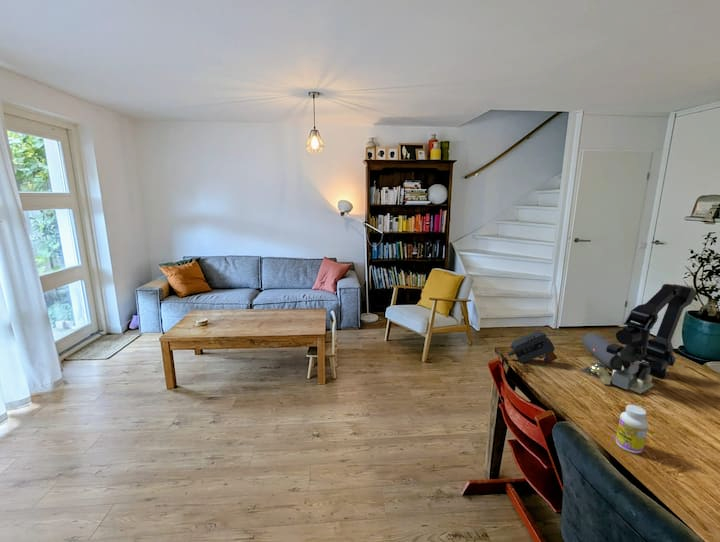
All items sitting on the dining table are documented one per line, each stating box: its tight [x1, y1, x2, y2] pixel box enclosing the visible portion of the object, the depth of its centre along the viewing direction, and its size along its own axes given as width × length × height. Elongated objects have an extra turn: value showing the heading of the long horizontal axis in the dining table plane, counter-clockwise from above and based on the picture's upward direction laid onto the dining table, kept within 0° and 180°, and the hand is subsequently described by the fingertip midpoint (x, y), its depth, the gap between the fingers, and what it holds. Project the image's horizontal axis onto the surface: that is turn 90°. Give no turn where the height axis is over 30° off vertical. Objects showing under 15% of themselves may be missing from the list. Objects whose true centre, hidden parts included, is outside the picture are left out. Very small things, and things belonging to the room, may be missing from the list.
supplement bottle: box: [615, 404, 649, 454], centre depth 101 cm, size 7×7×13 cm
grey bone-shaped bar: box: [611, 361, 651, 391], centre depth 136 cm, size 19×5×5 cm, turn 119°
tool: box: [507, 330, 558, 364], centre depth 154 cm, size 6×19×15 cm, turn 78°
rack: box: [610, 365, 654, 394], centre depth 136 cm, size 11×11×4 cm
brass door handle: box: [588, 362, 612, 385], centre depth 141 cm, size 14×6×4 cm, turn 163°
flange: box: [580, 366, 613, 380], centre depth 145 cm, size 9×9×1 cm
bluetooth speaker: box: [581, 332, 623, 371], centre depth 153 cm, size 23×9×10 cm, turn 172°
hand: (631, 375), depth 136 cm, fingers closed on grey bone-shaped bar, 3 cm apart
